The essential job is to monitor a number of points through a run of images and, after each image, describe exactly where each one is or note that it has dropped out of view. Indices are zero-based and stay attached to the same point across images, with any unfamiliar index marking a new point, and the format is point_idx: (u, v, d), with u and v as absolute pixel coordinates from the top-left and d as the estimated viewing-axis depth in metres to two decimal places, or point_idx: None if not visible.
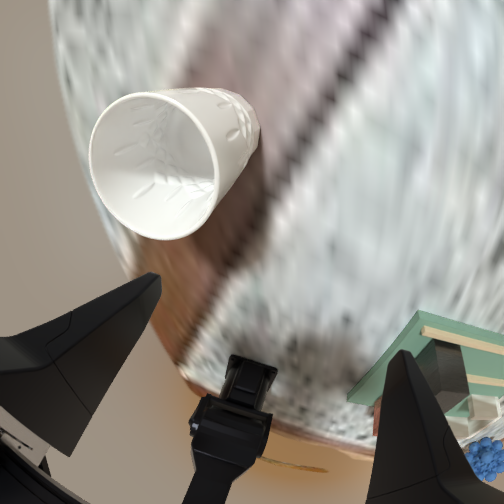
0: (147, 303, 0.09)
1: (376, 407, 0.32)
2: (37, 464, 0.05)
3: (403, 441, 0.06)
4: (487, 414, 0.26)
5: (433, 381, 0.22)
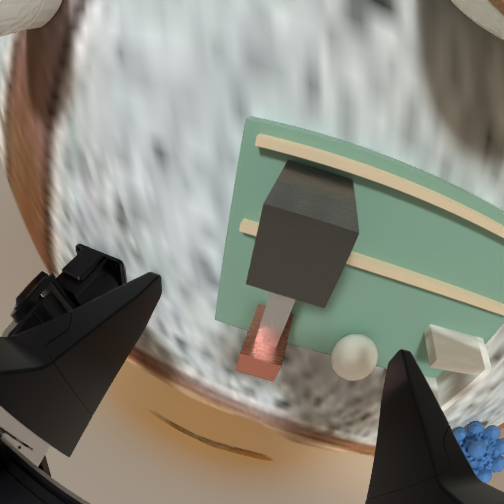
0: (147, 303, 0.09)
1: None
2: (37, 464, 0.05)
3: (403, 441, 0.06)
4: (463, 361, 0.18)
5: None
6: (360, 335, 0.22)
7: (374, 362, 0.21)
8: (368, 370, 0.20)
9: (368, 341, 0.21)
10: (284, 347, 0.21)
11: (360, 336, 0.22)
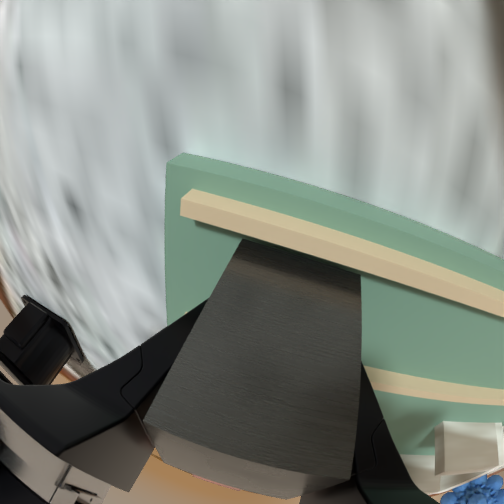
0: None
1: None
2: None
3: None
4: (476, 463, 0.10)
5: None
6: None
7: None
8: None
9: None
10: None
11: None
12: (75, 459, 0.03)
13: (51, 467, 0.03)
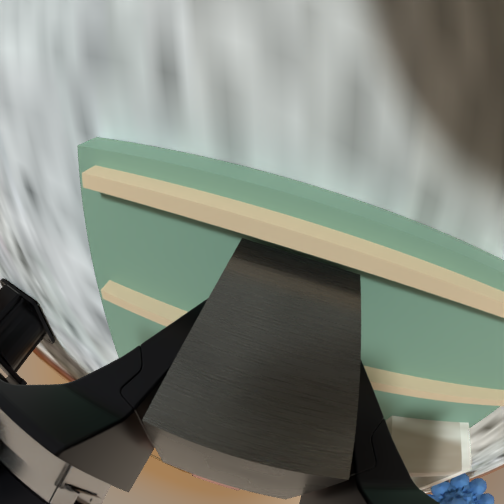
0: None
1: None
2: None
3: None
4: (431, 466, 0.11)
5: None
6: None
7: None
8: None
9: None
10: None
11: None
12: (75, 459, 0.03)
13: (51, 467, 0.03)
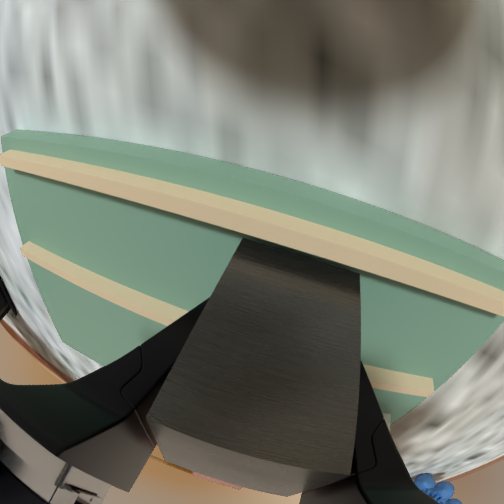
0: None
1: None
2: None
3: None
4: None
5: None
6: None
7: None
8: None
9: None
10: None
11: None
12: (75, 459, 0.03)
13: (51, 467, 0.03)
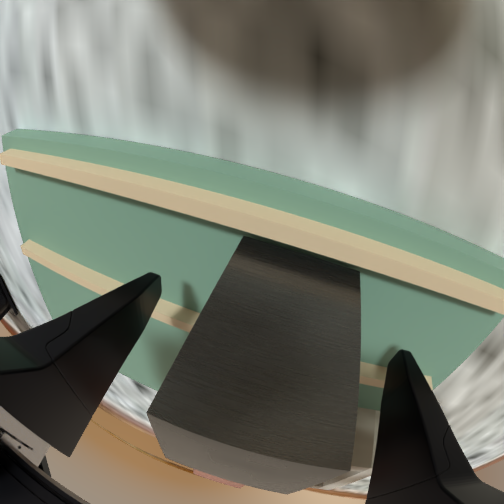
0: (147, 303, 0.09)
1: None
2: (37, 464, 0.05)
3: (403, 441, 0.06)
4: None
5: None
6: None
7: None
8: None
9: None
10: None
11: None
12: None
13: None
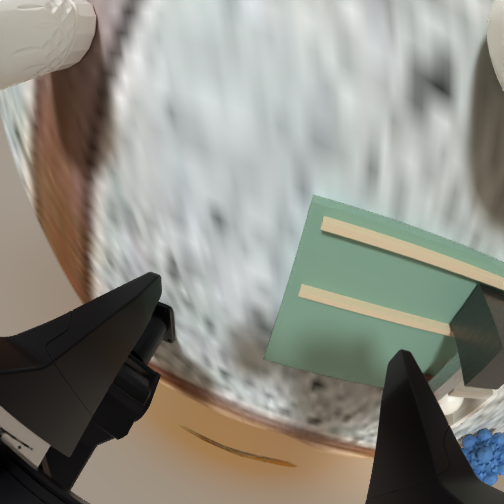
0: (147, 303, 0.09)
1: None
2: (37, 464, 0.05)
3: (403, 441, 0.06)
4: (475, 389, 0.19)
5: (488, 339, 0.14)
6: None
7: None
8: None
9: None
10: None
11: None
12: None
13: None
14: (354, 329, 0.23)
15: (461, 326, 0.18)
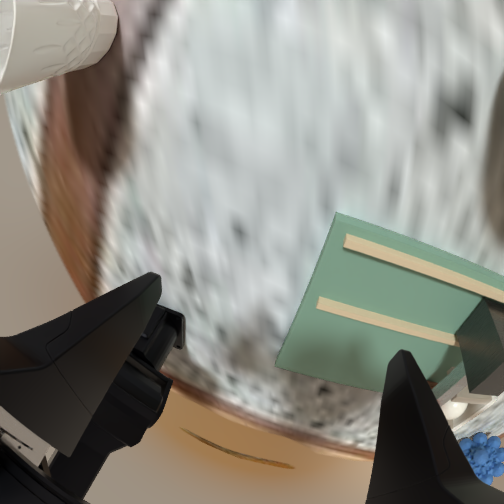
0: (147, 303, 0.09)
1: None
2: (37, 464, 0.05)
3: (403, 441, 0.06)
4: (476, 395, 0.20)
5: (492, 350, 0.15)
6: None
7: (451, 404, 0.23)
8: None
9: None
10: None
11: None
12: None
13: None
14: (365, 339, 0.24)
15: (466, 337, 0.19)
